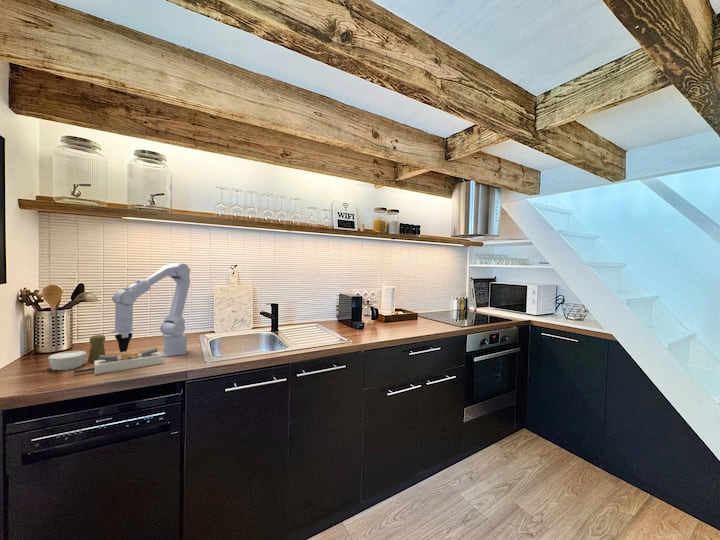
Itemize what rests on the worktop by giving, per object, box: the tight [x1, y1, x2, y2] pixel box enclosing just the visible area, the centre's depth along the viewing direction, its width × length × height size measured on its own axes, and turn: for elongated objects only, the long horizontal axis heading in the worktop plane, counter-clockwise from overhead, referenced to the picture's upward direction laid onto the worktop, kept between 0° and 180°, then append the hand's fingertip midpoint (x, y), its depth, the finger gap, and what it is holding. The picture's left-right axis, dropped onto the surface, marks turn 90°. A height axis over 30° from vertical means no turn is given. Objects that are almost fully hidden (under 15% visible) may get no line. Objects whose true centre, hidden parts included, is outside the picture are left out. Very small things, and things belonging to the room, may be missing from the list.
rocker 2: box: [140, 347, 159, 357], centre depth 129 cm, size 6×3×1 cm, turn 132°
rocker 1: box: [99, 354, 118, 360], centre depth 119 cm, size 6×3×1 cm, turn 133°
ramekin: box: [47, 350, 88, 372], centre depth 121 cm, size 11×11×5 cm
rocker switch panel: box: [73, 351, 163, 375], centre depth 122 cm, size 28×7×4 cm, turn 133°
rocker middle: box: [120, 350, 139, 359], centre depth 124 cm, size 6×3×1 cm, turn 133°
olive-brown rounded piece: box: [87, 334, 106, 363], centre depth 130 cm, size 6×6×11 cm
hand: (123, 351), depth 122 cm, fingers closed
